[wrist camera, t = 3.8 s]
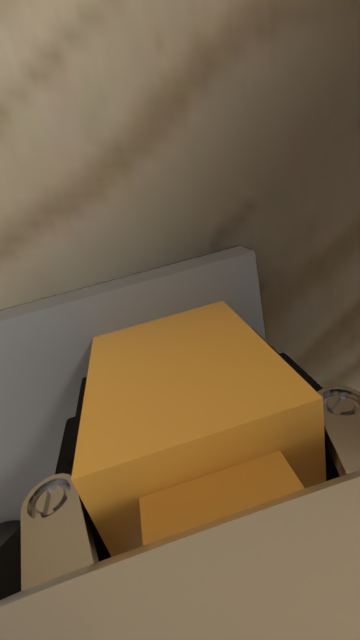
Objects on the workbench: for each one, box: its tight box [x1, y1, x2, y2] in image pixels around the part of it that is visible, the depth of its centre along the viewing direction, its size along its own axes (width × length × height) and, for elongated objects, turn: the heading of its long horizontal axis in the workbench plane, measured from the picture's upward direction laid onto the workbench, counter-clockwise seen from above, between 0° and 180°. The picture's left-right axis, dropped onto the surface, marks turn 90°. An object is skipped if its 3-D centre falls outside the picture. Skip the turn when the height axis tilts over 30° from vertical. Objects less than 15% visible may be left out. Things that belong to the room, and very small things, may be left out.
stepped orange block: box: [71, 301, 326, 557], centre depth 9 cm, size 5×5×8 cm
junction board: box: [0, 246, 266, 547], centre depth 12 cm, size 18×14×6 cm
